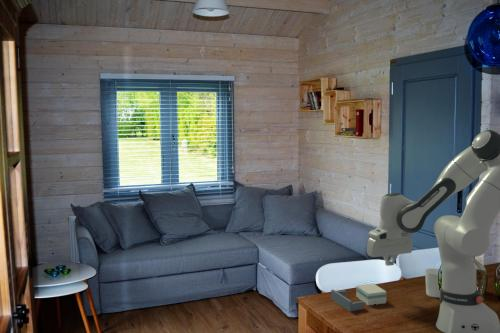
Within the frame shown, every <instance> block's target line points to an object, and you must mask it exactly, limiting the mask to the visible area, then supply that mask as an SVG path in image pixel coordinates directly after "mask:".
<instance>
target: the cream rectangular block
mask: <svg viewBox="0 0 500 333" xmlns="http://www.w3.org/2000/svg"><path fill="white" fill-rule="evenodd" d="M355 287H356V289H355V293H356V295H355V297H356V298H357V297H358V298H357V299H359V300H360V301H361V300H362V301H364V302H365V303H366V304H365V303H364V304H365V305H367V306H374V304H376V305H380V304H381V305H382V304H383V305H384V304H386V303H387V291H386V290H385V289H384V288H381V287H380V286H378V285H377V284H375V283H373V282H372V283H367V284H366V283H365V284H359V285H357V284H356V285H355Z"/></svg>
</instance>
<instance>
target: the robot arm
mask: <svg viewBox="0 0 500 333" xmlns="http://www.w3.org/2000/svg"><path fill="white" fill-rule="evenodd" d="M484 172H485V173H484ZM483 173H484V174H483ZM482 174H483V175H482ZM481 175H482V176H481ZM480 176H481V178H479V177H480ZM478 178H479V180H478V182H477V183H476V184H475V185H474V187H473V188H472V189H471V191H470V192H469V194H468V195H467V196H466V198H465V207H464V209H463V213H462V215H461V217H460V216H457V215H452V214H451V215H450V214H448V215H447V214H445V215H442V216H439V217H438V218H437V219H436V220H435V222H434V224H433V232H434V235H435V237H436V242H437V246H438V251H439V252H438V253H439V257H440V263H441V270H442V286H441V288H440V297H439V303H440V306H439V311H438V317H437V320H436V323H435V327H436V328H437V329H438V330H439V331H440V332H442V333H500V319H499V317H498V314H497V313H496V312H495V311H494V310H493V309H491V308H490V307H489V306H487V305H486V304H485V303H484V302H483V301H484V299H483V293H482V291H478V290H477V267H476V265H475V262H474V259H473V257H475V258H476V257H477V258H478V257H481V256H482V255H484V254H485V253H487V251H488V250H489V248H490V242H491V240H490V232H491V229H492V227H493V224H494V222H495V220H496V218H497V217H498V216H499V215H498V214H500V133H499V132H496V131H494V130H492V129H487V130H483V131H481V132H479V133H478V134H477V135H476V136H475V137H474V138H473V140H472V142H471V145H470V146H468V147H467V148H466V149H464V150H463V151H461V152H460V153H458V154H457V155H455V157H454V158H453V159H451V161H449V163H448V164H447V165H446V166H444V168H443V170H442V171H441V173H440V174H439V176H438V177H437V180H436V181H435V183H434V184H433V186H432V187H431V188H430V189H429V190H428V191H427V192H426V193H424V194H423V196H422V197H420V198H419V199H418V200H417V202H416V201H414V200H411V199H409V198H407V197H405V196H404V195H402V193H400V192H391V193H386V194H385V195H382V197H381V200H380V207H379V209H380V210H379V216H380V222H379V226H378V227H376V228H373V229H372V230H369V232H368V236H369V238H368V239H367V243H366V253H367V254H366V255H368V256H369V257H371V258H377V257H383V259H384V262H385V266H387V267H389V266H394V265H395V261H396V258H397V255H403V254H405V255H406V254H410V253H412V251H413V240H412V239H413V237H412V236H413V234H415V233H417V232H419V231H421V229H422V228H423V226H424V224H425V221H426V220H427V217H428V216H430V214H431V213H432V212H433V211H435V210H436V208H438V207H439V206H440V205H441V204H442V203H444V201H446V200H447V199H449V198H450V197H452V196H454V195H455V194H456V193H458V192H460V191H462V190H464V189H465V188H467V187H469V185H471V184H472V183H473V182H474V181H475V180H477V179H478ZM390 256H391V257H390ZM389 258H390V259H389Z"/></svg>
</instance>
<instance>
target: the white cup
mask: <svg viewBox="0 0 500 333" xmlns="http://www.w3.org/2000/svg"><path fill="white" fill-rule="evenodd" d="M439 269H440V268H427V269H425V270H424V271H425V272H424V273H425V277H424V278H425V279H424V280H425V293H426V295H427V296H428V297H431V298H437V299H438V298H440V290H439V285H438V270H439Z"/></svg>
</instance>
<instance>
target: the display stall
mask: <svg viewBox="0 0 500 333" xmlns="http://www.w3.org/2000/svg"><path fill="white" fill-rule="evenodd" d="M330 296H331V297H330V300H332V301H333V302H334V303H336V304H338V305H339V306H341V307H342V308H344V309H345V310H346V311H348V312H350V313H351V312H355V311H362V310H365V303H364V301H361V300H360V301H358V300H357V301H355V302H353V301H352V300H351V299H350V298H347V290H346V289H343V290H335V289H331V290H330Z"/></svg>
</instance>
